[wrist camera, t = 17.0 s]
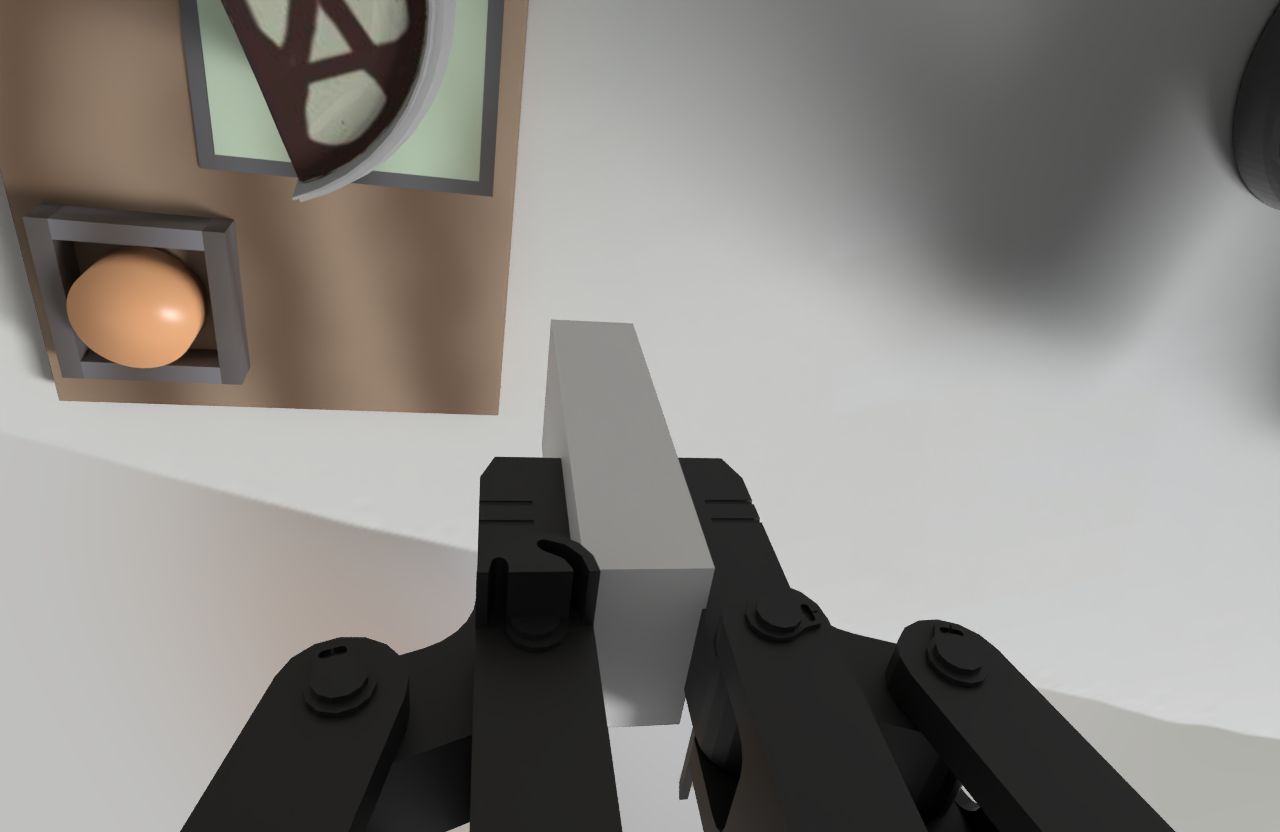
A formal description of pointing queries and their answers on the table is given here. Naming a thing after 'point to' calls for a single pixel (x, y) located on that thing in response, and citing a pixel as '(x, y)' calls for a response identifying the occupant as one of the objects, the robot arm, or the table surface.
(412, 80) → the food container
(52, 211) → the picture board
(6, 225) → the table surface
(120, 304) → the button
